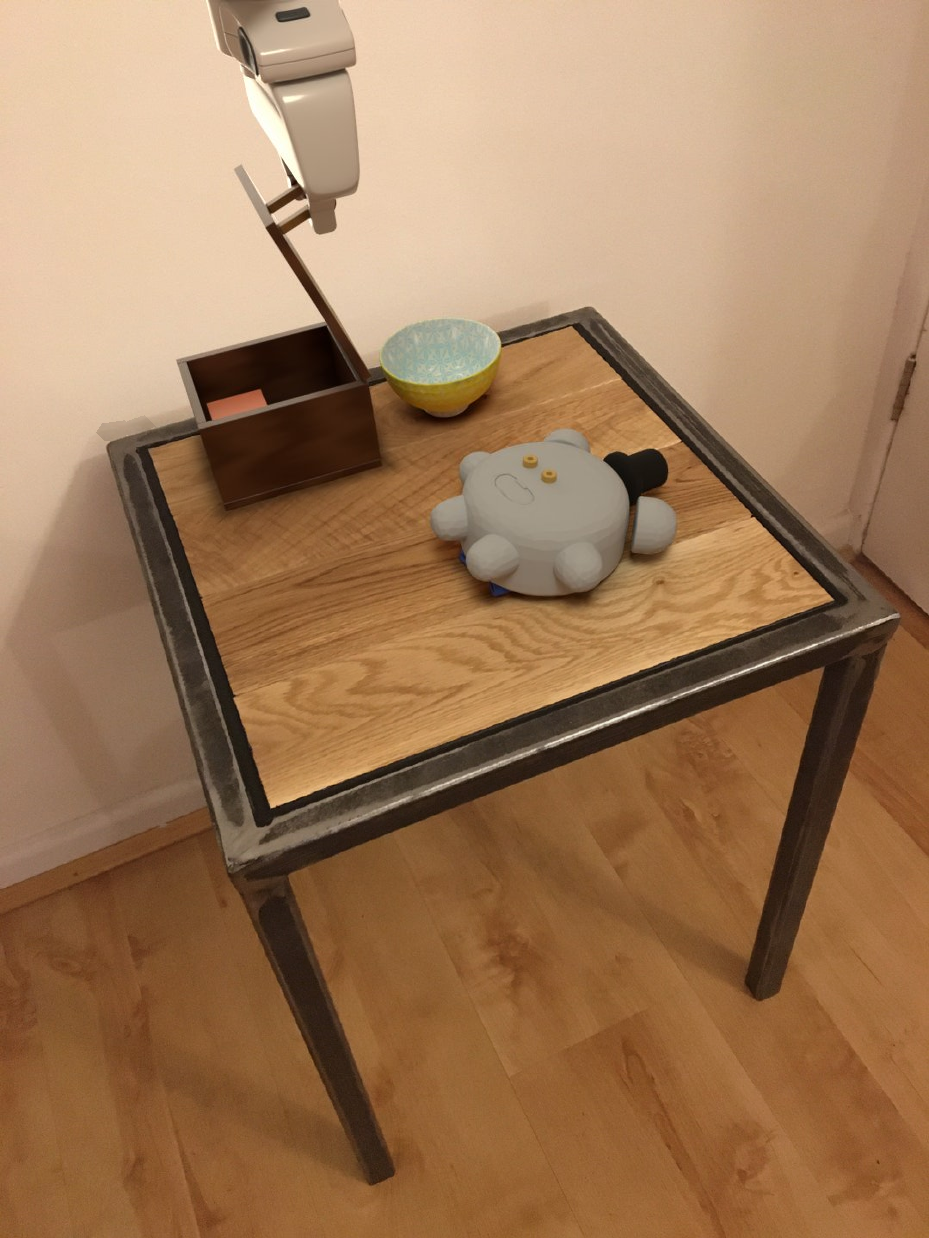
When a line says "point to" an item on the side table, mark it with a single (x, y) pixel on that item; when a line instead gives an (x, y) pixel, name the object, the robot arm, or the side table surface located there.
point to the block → (236, 404)
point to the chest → (282, 414)
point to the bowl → (441, 363)
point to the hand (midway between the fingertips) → (313, 212)
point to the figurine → (554, 514)
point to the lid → (298, 257)
